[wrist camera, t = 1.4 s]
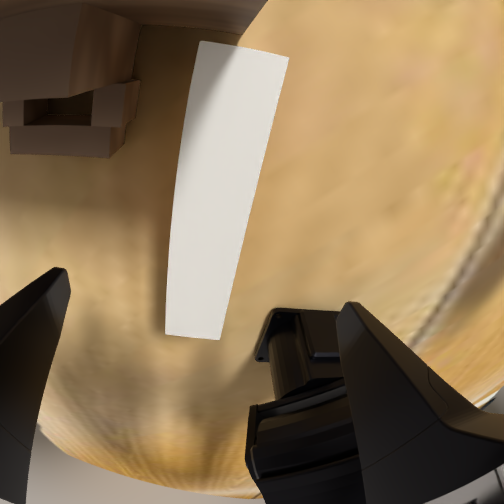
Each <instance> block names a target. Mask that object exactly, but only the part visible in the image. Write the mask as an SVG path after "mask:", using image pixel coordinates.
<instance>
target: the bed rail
mask: <svg viewBox="0 0 504 504" xmlns="http://www.w3.org/2000/svg"><path fill="white" fill-rule="evenodd" d="M288 61H289V57H285V56H281V55H277V54H272V53H268V52H264V51H259V50H254V49H249V48H244V47H239V46H233V45H227V44H221V43H214V42H207V41H200V43H199V47H198V52H197V56H196V61H195V66H194V71H193V76H192V81H191V86H190V91H189V97H188V102H187V108H186V114H185V120H184V126H183V133H182V139H181V146H180V153H179V160H178V168H177V176H176V184H175V193H174V202H173V212H172V222H171V233H170V245H169V259H168V275H167V294H166V322H165V334H167V335H175V336H184V337H193V338H203V339H214V340H220V336H221V332H222V327H223V323H224V319H225V315H226V310H227V306H228V302H229V298H230V294H231V289H232V285H233V281H234V277H235V273H236V268H237V264H238V260H239V256H240V252H241V248H242V244H243V239H244V235H245V231H246V227H247V223H248V219H249V215H250V211H251V207H252V203H253V199H254V195H255V191H256V187H257V183H258V179H259V175H260V171H261V167H262V163H263V159H264V155H265V151H266V147H267V143H268V139H269V135H270V131H271V127H272V123H273V119H274V115H275V111H276V107H277V104H278V100H279V96H280V92H281V88H282V84H283V80H284V76H285V73H286V69H287V65H288Z"/></svg>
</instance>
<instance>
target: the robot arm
mask: <svg viewBox="0 0 504 504" xmlns="http://www.w3.org/2000/svg"><path fill="white" fill-rule="evenodd" d="M70 294H71V288H70V283H69V278H68V273H67V271H66V269H64V268H59V267H54V268H52V269H50V270H49V271H47V272H46V273H44V274H43V275H42V276H40V277H39V278H37V279H36V280H34V281H33V282H31V283H30V284H29V285H27V286H26V287H24V288H23V289H22V290H20V291H19V292H17V293H16V294H15V295H13V296H12V297H11V298H9V299H8V300H7V301H5V302H4V303H3V304H1V305H0V498H1V499H3V500H6V501H9V502H11V503H14V504H26V491H27V480H28V472H29V465H30V458H31V450H32V445H33V439H34V434H35V428H36V423H37V419H38V414H39V410H40V405H41V401H42V397H43V393H44V389H45V385H46V382H47V378H48V375H49V371H50V368H51V364H52V361H53V358H54V354H55V351H56V348H57V345H58V342H59V339H60V335H61V331H62V327H63V323H64V318H65V314H66V310H67V306H68V302H69V299H70ZM277 314H278V315H277ZM255 360H256V361H257V362H269V363H270V369H271V375H272V382H273V388H274V394H275V401H272V402H268V403H265V404H261V405H258V404H256V405H253V406H250V411H249V417H248V428H247V439H246V450H245V462H246V466H247V468H248V470H249V473H250V475H251V477H252V479H253V480H254V482H255V483H256V485H257V487H258V488H259V490H260V492H261V493H262V496H263V498H264V500H265V503H266V504H504V414H495V413H494V414H493V413H488V412H485V411H482V410H480V409H478V408H477V407H475V406H474V405H473V404H472V403H471V402H469V401H468V400H467V399H466V398H464V397H463V396H462V395H461V394H460V393H458V392H457V391H456V390H455V389H454V388H452V387H451V386H450V385H449V384H448V383H446V382H445V381H444V380H443V379H442V378H441V377H440V376H439V375H437V374H436V373H435V372H434V371H433V370H432V369H431V368H430V367H429V366H427V364H426V363H425V362H424V361H422V360H421V359H420V358H419V357H418V356H417V355H416V354H415V353H414V352H413V351H412V350H411V349H410V348H408V347H407V346H406V345H405V344H404V343H403V342H402V341H401V340H400V339H399V338H398V337H396V336H395V335H394V334H393V333H392V332H391V331H390V330H389V329H388V328H387V327H385V326H384V325H383V324H382V323H381V322H380V321H379V320H378V319H377V318H375V317H374V316H373V315H372V314H371V313H370V312H369V311H368V310H366V309H365V308H364V307H363V306H362V305H361V304H360V303H358V302H351V301H348V302H346V303H345V305H344V306H343V308H342V310H341V312H340V311H322V310H306V309H291V308H275V309H273V310H272V312H271V314H270V317H269V319H268V322H267V325H266V327H265V330H264V333H263V335H262V338H261V340H260V343H259V345H258V348H257V350H256V353H255Z"/></svg>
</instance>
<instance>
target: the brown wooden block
mask: <svg viewBox="0 0 504 504" xmlns="http://www.w3.org/2000/svg"><path fill="white" fill-rule="evenodd" d="M267 1H268V0H0V102H3V127H9V129H10V152H11V154H40V155H66V156H84V157H99V158H110V157H111V156H112V155H113V154H114V153H115V152H116V151H117V150H118V149H119V148H120V147H121V146H122V145H123V144H124V141H125V129H126V124H127V123H128V122H130V121H131V120H132V119H134V118H135V117H136V111H137V103H138V95H139V88H140V81H141V80H131V79H132V72H133V66H134V60H135V54H136V49H137V43H138V38H139V34H140V29H141V25H166V26H180V27H191V28H200V29H208V30H215V31H222V32H228V33H234V34H240V35H243V33H244V32H245V31H246V29H247V28H248V26H249V25H250V24H251V22H252V21H253V19H254V18H255V17H256V15H257V14H258V13H259V11H260V10H261V9H262V7H263V6H264V5H265V3H266V2H267ZM90 90H94V95H93V106H92V115H47V104H48V98H68V97H71V96H74V95H77V94H81V93H84V92H87V91H90Z"/></svg>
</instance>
